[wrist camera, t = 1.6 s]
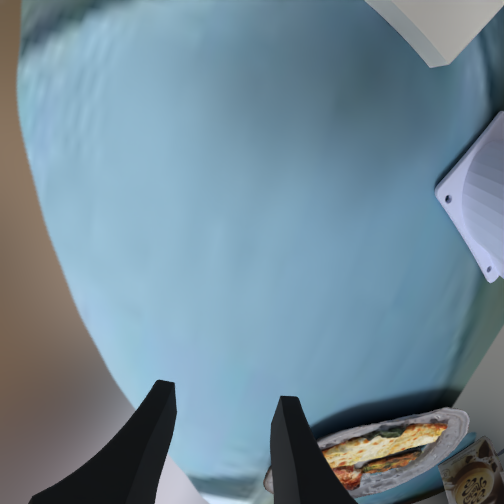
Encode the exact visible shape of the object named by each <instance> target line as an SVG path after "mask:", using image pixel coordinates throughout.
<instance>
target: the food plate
mask: <svg viewBox="0 0 504 504" xmlns="http://www.w3.org/2000/svg"><path fill="white" fill-rule="evenodd" d="M469 422H470V419H469V416H468V414H467V412H465V411H463V410H460V409H455V408H449V407H444V408H442V409H439V410H434V411H430V412H427V413H422V414H421V413H420V414H417V415H416V414H413V415H412V416H410V415H409V416H407V417H406V416H405V417H402V418H397V419H395V420H389V421H384V422H379V423H378V424H377V423H375V424H372V423H371V424H370V425H364V424H363V425H361V426H362V427H361V426H358V427H355V428H350V429H345V430H340V431H337V432H336V433H330V434H328V435H325V436H323V437H321V438H318V439H316V441H317V443H318V445H319V447H320V449H321V451H322V453H323V455H324V457H325V458H326V460H327V462H328V463H329V465H330V467H331V468H332V470H333V472H334V473H335V475H336V476H337V478H338V479H339V480H340V482H341V483H342V485H343V486H344V487H345V489H346V490H347V491H348V492H349V494H350V495H351V496H352V497H353V498H358V497H362V496H366V495H371V494H374V493H375V494H376V493H380V492H382V491H385V490H388V489H390V488H394V487H396V486H398V485H400V484H402V483H404V482H407V481H408V480H410V479H412V478H414V477H416V476H417V475H420V474H422V473H424V472H425V471H428V470H429V469H430V468H432V467H433V466H435V465H436V464H437V463H439V462H441V461H442V460H443V459H444V458H445V457H447V456H449V453H451V451H453V450H454V449H455V448H456V446H458V444H459V442H460V441H461V440H462V439H463V438H464V436H465V435H466V434H467V432H468V428H469V427H468V426H469ZM427 443H428V444H427ZM424 444H427V445H426V447H425V448H424V449H423V451H422V450H421V448H415V449H410V450H407V451H403V450H406V449H408V448H412V447H417V446H420V445H424ZM392 468H396V469H394V470H390V469H392ZM388 469H389V471H388ZM385 471H386V472H385ZM375 472H384V473H381V474H382V475H380V474H377V476H375V475H373V476H374V477H373V476H370V473H371V474H372V473H375ZM366 474H367V475H366ZM363 476H366V477H367V478H368V477H369V478H368V479H366V478H365V477H363ZM263 485H264V487H265V489H266V490H267V491H269V492H270V493H272V494H274V491H273V479H272V466H270V467H269V469H268V471H267V473H266V475H265V479H264V482H263Z"/></svg>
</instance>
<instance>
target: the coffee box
mask: <svg viewBox="0 0 504 504" xmlns="http://www.w3.org/2000/svg"><path fill="white" fill-rule="evenodd" d="M438 468H439V471H440V474H441V477H442V480H443V484H444V487H445V491H446V494H447V498H448V501H449V504H504V471H503V469H502V466H501V463H500V461H499V458H498V456H497V453H496V451H495V449H494V446H493V444H492V441H491V440H490V439H488V438H487V437H486V436H483V437H481V438H480V439H479V440H477V441H476V442H474V443H473V444H471V445H470V446H469V447H467V448H466V449H464V450H462V451H461V452H459V453H458V454H456V455H455V456H453V457H451V458H450V459H448V460H446V461H445V462H443V463H441V464H440V465H438Z"/></svg>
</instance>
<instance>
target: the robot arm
mask: <svg viewBox="0 0 504 504" xmlns="http://www.w3.org/2000/svg"><path fill="white" fill-rule="evenodd" d="M447 195H449V198H448V200H447V201H445V198H446V196H447ZM435 196H436V198H437V199H438V200H439V202H440V203H441V205H442V206H443V208H444V209H445V211H446V212H447V214H448V215H449V217H450V218H451V220H452V221H453V223H454V224H455V226H456V228H457V229H458V231H459V232H460V234H461V236H462V237H463V239H464V240H465V242H466V244H467V245H468V247H469V249H470V251H471V252H472V254H473V256H474V258H475V259H476V261H477V263H478V265H479V267H480V268H481V270H482V272H483V274H484V276H485V278H486V280H487V281H488V282H489V283H492V282H494V281H495V280H496V279H497V278H498V277H499V275H500V276H501V277H502V278H503V279H504V111H500V112H499V113H498V114H497V115H496V117H495V118H494V119H493V120H492V122H491V123H490V124H489V125H488V127H487V128H486V129H485V130H484V132H483V133H482V134H481V135H480V137H479V138H478V139H477V140H476V141H475V143H474V144H473V145H472V146H471V147H470V149H469V150H468V151H467V152H466V153H465V154H464V156H463V157H462V158H461V159H460V160H459V161H458V163H457V164H456V165H455V166H454V167H453V168H452V169H451V171H450V172H449V173H448V174H447V175H446V176H445V177H444V178H443V180H442V181H441V182H440V183H439V184H438V185H437V187H436V188H435ZM487 268H488V269H487ZM176 415H177V408H176V395H175V383H174V382H169V381H163V380H157V381H156V382H155V384H154V385H153V387H152V389H151V390H150V392H149V393H148V395H147V396H146V398H145V399H144V400H143V402H142V403H141V405H140V406H139V407H138V409H137V410H136V411H135V413H134V414H133V415H132V416H131V418H130V419H129V420H128V422H127V423H126V424H125V425H124V426H123V427H122V429H121V430H120V431H119V432H118V433H117V434H116V435H115V436H114V437H113V438H112V439H111V440H110V441H109V443H107V445H105V446H104V447H103V448H102V450H100V451H99V452H98V453H97V454H96V455H95V456H94V457H92V458H91V459H90V460H89V461H88V462H86V463H85V464H84V465H83V466H81V467H80V468H79V469H77V470H76V471H75V472H73V473H72V474H70V475H69V476H67V477H66V478H64V479H63V480H61V481H60V482H58V483H57V484H55V485H53V486H51V487H49V488H47V489H45V490H43V491H41V492H40V493H38V494H36V495H34V496H32V498H31V500H30V501H29V503H28V504H154V503H155V498H156V492H157V487H158V483H159V479H160V475H161V472H162V469H163V466H164V462H165V459H166V456H167V453H168V449H169V446H170V443H171V439H172V436H173V431H174V426H175V420H176ZM270 453H271V466H272V479H273V491H274V504H358V503H357V502H356V501H355V500H354V499H353V497H352V496H351V495H350V494H349V492H348V491H347V490H346V489H345V487H344V486H343V485H342V483H341V482H340V480H339V479H338V478H337V476H336V475H335V473H334V472H333V470H332V468H331V467H330V465H329V463H328V462H327V460H326V458H325V457H324V455H323V453H322V451H321V449H320V447H319V445H318V443H317V441H316V439H315V437H314V435H313V433H312V431H311V429H310V427H309V424H308V422H307V420H306V417H305V415H304V412H303V409H302V407H301V404H300V401H299V398H298V397H294V396H280V399H279V402H278V405H277V408H276V411H275V414H274V417H273V420H272V423H271V435H270Z"/></svg>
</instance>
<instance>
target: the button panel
mask: <svg viewBox="0 0 504 504" xmlns="http://www.w3.org/2000/svg"><path fill="white" fill-rule="evenodd" d="M364 1H365V2H367V3H368V4H369V5H370V6H371V7H372V8H373V9H374V10H375V11H377V12H378V13H379V14H380V15H381V16H382V17H383V18H384V19H385V20H386V21H387V22H388V23H389V24H390V25H391V26H392V27H393V28H394V29H395V30H396V31H397V32H398V33H399V34H400V35H401V36H402V37H403V38H404V39H405V40H406V41H407V42H408V43H409V44H410V46H411V47H412V48H413V49H414V50H415V51H416V52H417V53H418V54H419V56H420V57H421V58H422V59H423V60H424V61H425V63H426V64H427V65H428V66H429V67H430V68H433V67H439V66H445V65H449V64H450V63H451V62H452V61H453V60H454V59H455V58H456V57H457V56H458V55H459V54H460V52H461V51H462V50H463V49H464V48H465V47H466V46H467V45H468V44H469V43H470V42H471V41H472V39H473V38H474V37H475V36H476V35H477V34H478V33H479V32H480V31H481V30H482V29H483V28H484V26H485V25H486V24H487V23H488V22H489V21H490V20H491V19H492V18H493V17H494V15H495V14H496V13H497V12H498V11H499V10H500V9H501V8H502V7H503V6H504V0H364Z"/></svg>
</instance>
